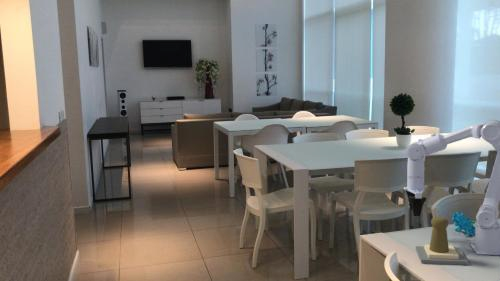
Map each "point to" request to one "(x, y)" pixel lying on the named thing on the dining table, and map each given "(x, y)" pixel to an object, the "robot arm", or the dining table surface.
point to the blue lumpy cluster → (464, 223)
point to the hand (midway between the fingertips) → (415, 212)
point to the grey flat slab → (441, 256)
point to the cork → (439, 235)
